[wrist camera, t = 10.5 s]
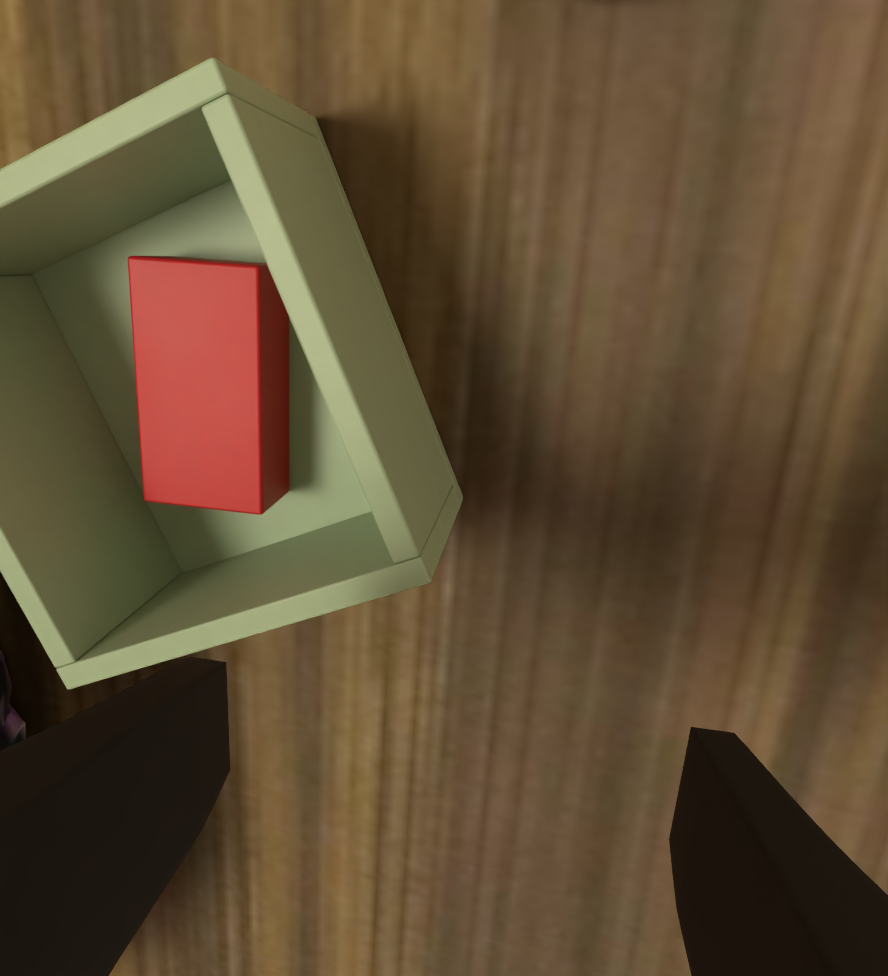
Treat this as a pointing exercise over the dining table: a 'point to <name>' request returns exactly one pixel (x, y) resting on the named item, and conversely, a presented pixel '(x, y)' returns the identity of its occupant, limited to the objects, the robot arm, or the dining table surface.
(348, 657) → the dining table surface
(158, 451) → the red rectangular block
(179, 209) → the green open box
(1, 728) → the decorative bowl
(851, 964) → the robot arm
